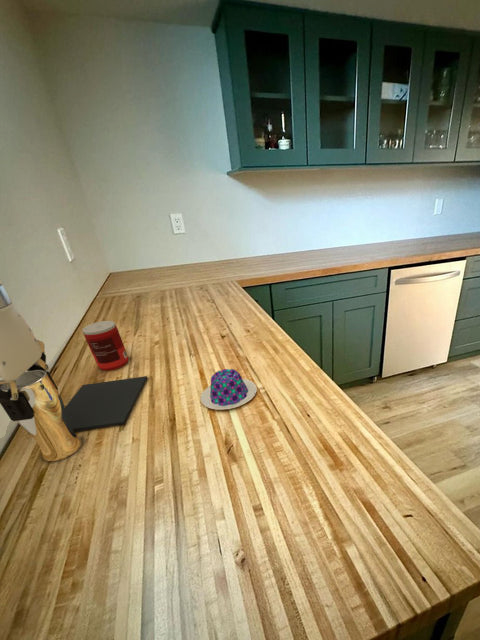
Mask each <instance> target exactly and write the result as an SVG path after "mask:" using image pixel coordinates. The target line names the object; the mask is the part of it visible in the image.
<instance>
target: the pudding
mask: <svg viewBox="0 0 480 640" xmlns="http://www.w3.org/2000/svg"><path fill="white" fill-rule="evenodd" d="M257 389H258V388H257V385H256V383H254V382H253V381H252V380H250V379H247V378H243V377H242V376H241V374H240V373H239V372H238V371H237V370H236V369H233V368H230V369H228V368H224V369H222V370H218V371H216V372H214V374H212V375H211V377H210V385H209V386H207V387H206V388H205V389H204V390H203V391H202V393H201V394H200V402H201V404H202V405H203V406H204V407H206V408H208V409H211V410H217V411H218V410H223V411H224V410H229V409H234V408H235V409H236V408H238V407H240V406H243V405H244V404H246V403H249V401H251V400H253V398H254V397H255V395H256V393H257V391H258V390H257Z"/></svg>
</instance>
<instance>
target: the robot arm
mask: <svg viewBox="0 0 480 640" xmlns="http://www.w3.org/2000/svg"><path fill="white" fill-rule="evenodd" d="M45 352H46V351H45V343H44V341H41V340H39V339H37V338H36V336H35V334H34V332H33V331H32V329H31V328H30V326H29V324H28V323H27V321H26V320H25V318H24V317H23V315H22V314H21V312H20V311H19V310H18V308H17V306H15V304H14V302H13V301H12V299H11V297H10V296H9V293H8V291H7V290H6V288H5V286H4V284H3V283H2V280H1V279H0V378H1V380H0V406H1V407H2V408H3V411H5V413H6V415H7V416H8V418H9V419H10V420H11V421H12V422H18V421H20V420H27V419H32V418H33V417H34V413H33V412H32V410H31V408H30V407H29V405H28V404H27V402H26V400H25V399H24V397H23V396H18V390H17V385H16V379H17V378H18V377H20V376H21V375H22V374H23V373H24V372H27V371H32V370H43V371H45V372H46V374H47V375H48V377H49V378H50V380H51V381H52V383H53V384H54V386H55V387H56V389H57V391H58V390H59V388H58V386H57V384H56V382H55V381H54V378H53V377H52V375H51V373H50V371H49V369H50V367H49V364H47V355H46V353H45ZM3 384H7V390H8V392H7V391H3V390H2V389H1V385H3Z"/></svg>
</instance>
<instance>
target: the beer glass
mask: <svg viewBox="0 0 480 640" xmlns="http://www.w3.org/2000/svg"><path fill="white" fill-rule="evenodd" d="M16 385H17V390H18V396H23V397H24V399H25V400H26V402H27V404H28V405H29V407H30V408H31V410H32V412H33V413H34V417H33V418H32V419H27V420H20V421H17V423H18V424H19V425H20V426H21V427H22V428H23V429H24V430H25V431H26V432H27V433H28V434H29V435H30V436H31V437H32V438H33V439H34V440H35V441H36V443H37V445H38V447H39V449H40V452H41V455H42V457H43V459H44V460H45V461H47V462H56V461H60V460H61V461H62V460H63V459H66V458H68V457H70V456H71V455H73V454H74V453H76V452H77V451H78V450H79V449H80V447H81V445H82V440H81V438H80V437H79V436H78V435H77V433H76V432H74V431H73V430H72V429H71V427H70V425H69V422H68V419H67V415H66V411H65V405H64V402H63V399H62V396H61V394H60V393H59V391H58V390H57V389H56V387H55V386H54V384H53V383H52V381H51V380H50V378H49V377H48V375H47V374H46V372H45V371H43V370H32V371H26V372H24V373H23V374H22V375H21V376H20V377H18V378H17V379H16ZM1 389H2V390H3V391H7V392H8V390H7V384H3V385H1Z"/></svg>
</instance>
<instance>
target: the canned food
mask: <svg viewBox="0 0 480 640" xmlns="http://www.w3.org/2000/svg"><path fill="white" fill-rule="evenodd" d="M82 334H83V336H84V339H85V340H86V343H87V345H88V347H89V350H90V352H91V354H92V356H93V359H94V361H95V363H96V366H97V367H98V368H99V369H100V370H101V371H105V372H106V371H107V372H109V371H114V370H119V369H120V368H123V367H125V366H126V365H127V364H128V362H129V355H128V353H127V349H126V347H125V344H124V342H123V339H122V337H121V334H120V331H119V329H118V327H117V324H116V323H115V321H113V320H102V321H98V322H97V321H96V322H93V323H91V324H87V325H86V326H85V327H83V328H82Z"/></svg>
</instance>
